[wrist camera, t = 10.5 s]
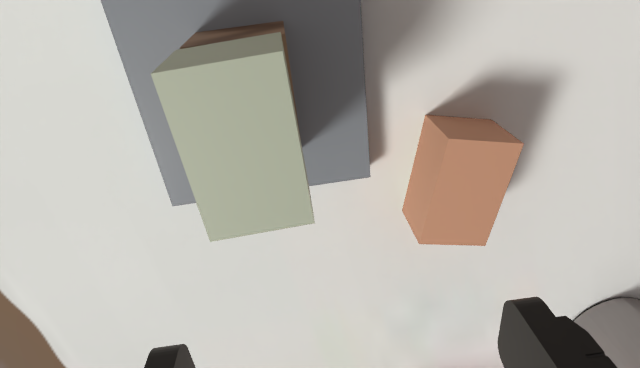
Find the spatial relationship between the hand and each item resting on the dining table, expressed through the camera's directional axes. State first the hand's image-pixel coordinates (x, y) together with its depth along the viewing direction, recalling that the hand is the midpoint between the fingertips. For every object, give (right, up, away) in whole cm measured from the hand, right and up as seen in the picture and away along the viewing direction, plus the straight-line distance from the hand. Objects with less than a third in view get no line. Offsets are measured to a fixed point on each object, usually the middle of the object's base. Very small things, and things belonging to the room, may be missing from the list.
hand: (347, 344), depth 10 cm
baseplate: (-5, +10, +16) cm, 20 cm away
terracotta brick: (+9, +5, +21) cm, 23 cm away
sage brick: (-4, +7, +11) cm, 14 cm away
